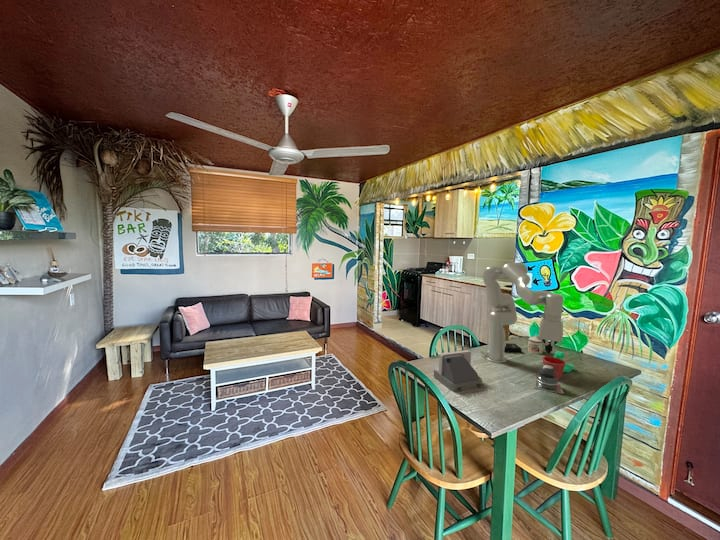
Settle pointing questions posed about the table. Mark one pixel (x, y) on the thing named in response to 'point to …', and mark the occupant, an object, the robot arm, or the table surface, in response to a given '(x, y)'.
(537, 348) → the teacup with lid
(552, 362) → the flower pot
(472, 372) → the grey sloped stand
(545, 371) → the dark grey cube
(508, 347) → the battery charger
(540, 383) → the lens barrel
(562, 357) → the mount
